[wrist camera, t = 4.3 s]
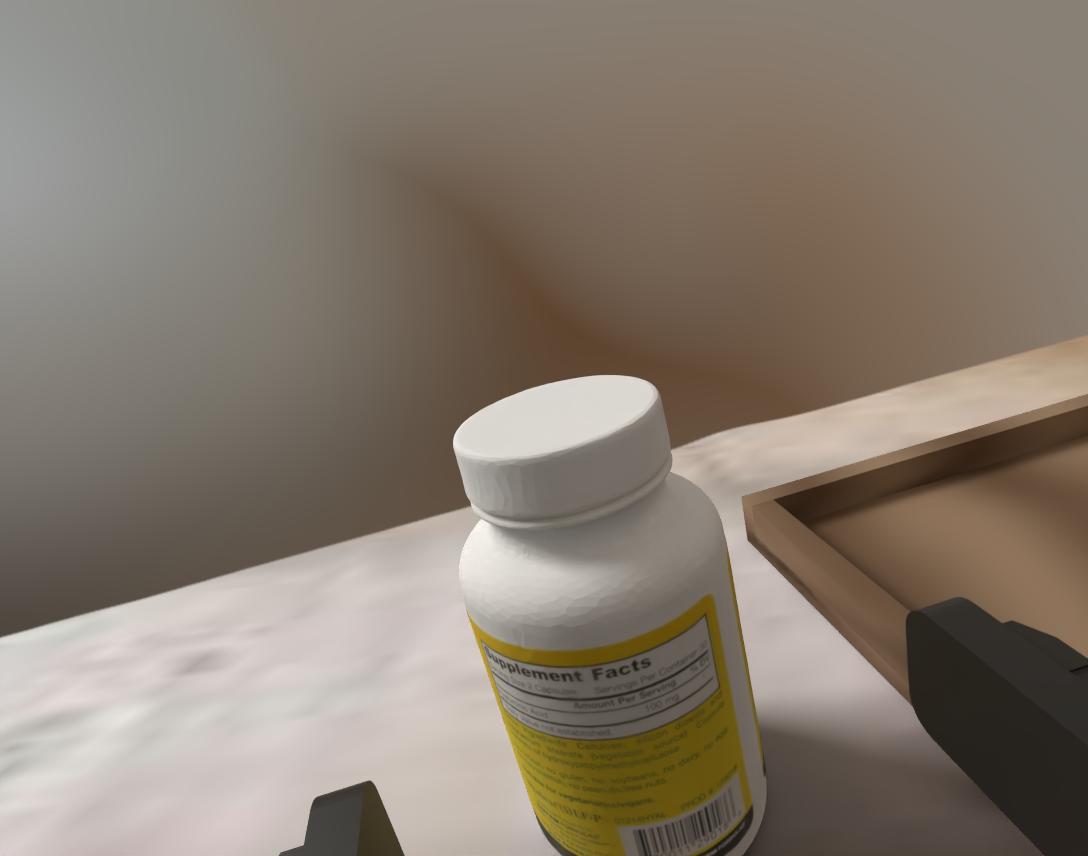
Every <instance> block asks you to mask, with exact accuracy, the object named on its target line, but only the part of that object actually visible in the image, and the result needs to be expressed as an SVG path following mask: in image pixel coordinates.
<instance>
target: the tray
mask: <svg viewBox="0 0 1088 856" xmlns="http://www.w3.org/2000/svg"><path fill="white" fill-rule="evenodd" d="M742 504H743V511H744V518H745V525H746V532H747V538H748V541H749V542H750V543H751V544H752V545H753V546H754V547H755V548H756V549H757V550H758V551H759V552H760V553H761V554H762V555H763V556H764V557H765V558H766V559H767V560H768V561H769V562H770V563H771V564H772V565H773V566H774V567H775V568H776V569H777V570H778V571H779V572H780V573H781V574H782V575H783V576H784V577H785V578H786V579H787V580H788V581H789V582H790V583H791V584H792V585H793V586H794V587H795V588H796V589H797V590H798V591H799V592H800V593H801V594H802V595H803V596H804V597H805V598H806V599H807V600H808V601H809V602H810V603H811V604H812V605H813V606H814V607H815V608H816V609H817V610H818V611H819V612H820V613H821V614H822V615H823V616H824V617H825V618H826V619H827V620H828V621H829V622H830V623H831V624H832V625H833V626H834V627H835V628H836V629H837V630H838V631H839V632H840V633H841V634H842V635H843V636H844V637H845V638H846V639H847V640H848V642H849V643H850V644H851V645H852V646H853V647H854V648H855V649H856V650H857V651H858V652H859V653H860V654H861V655H862V656H863V657H864V658H865V659H866V660H867V661H868V662H869V663H870V664H871V665H872V666H873V667H874V668H875V669H876V670H877V671H878V672H879V673H880V674H881V675H882V676H883V677H884V678H885V679H886V680H887V681H888V682H889V683H890V684H891V685H892V686H893V687H894V688H895V689H896V690H897V691H898V692H899V693H900V694H901V695H902V696H903V697H904V698H905V699H906V700H907V701H908V702H909V703H910V704H911V705H912V702H911V699H910V694H909V679H908V661H907V643H906V617H907V615H908V614H909V613H910V612H911V611H914V610H917V609H920V608H924V607H927V606H930V605H933V604H936V603H939V602H943V601H946V600H949V599H952V598H955V597H963V598H966V599H968V600H970V601H972V602H973V603H975V604H976V605H978V606H979V607H980V608H982V609H983V610H985V611H986V612H987V613H989V614H990V615H992V616H993V617H994V618H996V619H997V620H998V621H1000V622H1001V623H1004V622H1008V621H1011V620H1013V621H1016V622H1018V623H1021V624H1023V625H1026V626H1029V627H1031V628H1034V629H1036V630H1039V631H1042V632H1044V633H1047V634H1049V635H1052V636H1055V637H1057V638H1058V639H1060V640H1061V641H1063V642H1064V643H1066V644H1067V645H1069V646H1070V647H1072V648H1073V649H1075V650H1076V651H1078V652H1079V653H1081V654H1082V655H1084V656H1085V657H1086V658H1088V394H1087V395H1083V396H1080V397H1077V398H1073V399H1070V400H1066V401H1063V402H1060V403H1056V404H1053V405H1049V406H1046V407H1043V408H1039V409H1036V410H1033V411H1029V412H1026V413H1022V414H1019V415H1016V416H1012V417H1009V418H1006V419H1002V420H999V421H995V422H992V423H989V424H985V425H982V426H979V427H975V428H972V429H968V430H965V431H962V432H958V433H955V434H952V435H948V436H945V437H941V438H938V439H935V440H931V441H928V442H925V443H921V444H918V445H914V446H911V447H908V448H904V449H901V450H898V451H894V452H891V453H887V454H884V455H881V456H877V457H874V458H871V459H867V460H864V461H860V462H857V463H854V464H850V465H847V466H844V467H840V468H837V469H833V470H830V471H827V472H823V473H820V474H817V475H813V476H810V477H806V478H803V479H800V480H796V481H793V482H790V483H786V484H783V485H779V486H776V487H773V488H769V489H766V490H762V491H759V492H756V493H752V494H749V495H746V496H742ZM912 706H913V705H912Z"/></svg>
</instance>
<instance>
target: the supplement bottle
mask: <svg viewBox="0 0 1088 856" xmlns="http://www.w3.org/2000/svg"><path fill="white" fill-rule="evenodd" d="M453 447H454V451H455V454H456V457H457V461H458V465H459V468H460V471H461V475H462V479H463V483H464V487H465V491H466V494H467V496H468V498H469V500H470V501H471V505H472V508H473V510H474V512H475V513H476V514H477V515H478V516H479V517H480V518H481V520H480V521H479V522H478V523H477V525H476V526H475V528H474V529H473V531H472V532H471V533H470V535H469V537H468V539H467V541H466V543H465V545H464V548H463V551H462V554H461V558H460V565H459V582H460V587H461V592H462V595H463V598H464V602H465V606H466V610H467V614H468V617H469V620H470V623H471V626H472V629H473V631H474V634H475V637H476V640H477V643H478V646H479V649H480V652H481V655H482V658H483V661H484V664H485V667H486V670H487V673H488V676H489V679H490V682H491V685H492V688H493V691H494V694H495V697H496V699H497V702H498V705H499V708H500V711H501V714H502V718H503V721H504V724H505V727H506V730H507V733H508V735H509V738H510V741H511V744H512V747H513V750H514V753H515V756H516V759H517V762H518V765H519V768H520V771H521V774H522V777H523V780H524V783H525V786H526V789H527V792H528V795H529V799H530V801H531V804H532V806H533V809H534V812H535V815H536V818H537V820H538V823H539V826H540V828H541V830H542V833H543V835H544V837H545V839H546V841H547V843H548V845H549V846H550V848H551V849H552V851H553V852H554V854H555V855H556V856H743V854H744V853H745V852H746V850H747V849H748V848H749V846H750V845H751V843H752V842H753V840H754V838H755V836H756V834H757V832H758V830H759V827H760V825H761V822H762V819H763V815H764V811H765V806H766V798H767V783H766V769H765V762H764V756H763V751H762V745H761V738H760V732H759V726H758V721H757V715H756V709H755V704H754V698H753V692H752V686H751V681H750V675H749V668H748V662H747V657H746V652H745V646H744V640H743V635H742V630H741V624H740V618H739V612H738V606H737V600H736V594H735V588H734V582H733V576H732V570H731V564H730V558H729V553H728V547H727V542H726V538H725V535H724V530H723V525H722V522H721V519H720V516H719V513H718V511H717V509H716V508H715V506H714V504H713V503H712V501H711V500H710V499H709V497H708V496H707V495H706V494H705V493H704V492H703V491H702V490H701V489H700V488H699V487H697V486H696V485H695V484H693V483H692V482H691V481H689V480H687V479H685V478H683V477H682V476H679V475H677V474H674V473H672V472H669V471H670V469H671V467H672V454H671V451H670V440H669V435H668V430H667V425H666V421H665V416H664V412H663V407H662V402H661V397H660V394H659V392H658V390H657V389H656V388H655V387H654V386H653V385H652V384H651V383H649V382H647V381H645V380H642V379H639V378H635V377H629V376H619V375H599V376H589V377H581V378H575V379H569V380H564V381H559V382H555V383H550V384H546V385H542V386H539V387H536V388H531V389H528V390H525V391H523V392H520V393H517V394H515V395H512V396H510V397H507V398H504V399H502V400H500V401H498V402H496V403H494V404H492V405H490V406H488V407H486V408H484V409H482V410H480V411H479V412H477V413H476V414H474V415H473V416H471V417H470V418H469V419H467V420H466V421H465V422H464V423H463V424H462V425H461V426H460V427H459V429H458V430H457V432H456V434H455V435H454V441H453Z"/></svg>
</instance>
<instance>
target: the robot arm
mask: <svg viewBox="0 0 1088 856" xmlns="http://www.w3.org/2000/svg"><path fill="white" fill-rule="evenodd" d="M906 643H907V661H908V679H909V694H910V699H911V702H912V705H913V708H914V710H915V713H916V715H917V717H918V719H919V721H920V722H921V724H922V726H923V727H924V729H925V730H926V731H927V733H928V734H929V735H930V736H931V738H932V739H933V740H934V741H935V742H936V743H937V744H938V745H939V746H940V747H941V748H942V749H943V750H944V751H945V752H946V753H947V754H948V755H949V756H950V757H951V759H952V760H953V761H954V762H955V763H956V764H957V765H958V766H959V767H960V768H961V769H962V770H963V771H964V772H965V773H966V774H967V775H968V776H969V777H970V778H971V779H972V780H973V781H974V782H975V784H976V785H977V786H978V787H979V788H980V789H981V790H982V791H983V792H984V793H985V794H986V795H987V796H988V797H989V798H990V799H991V800H992V801H993V802H994V803H995V804H996V805H997V806H998V807H999V808H1000V810H1001V811H1002V812H1003V813H1004V814H1005V815H1006V816H1007V817H1008V818H1009V819H1010V820H1011V821H1012V822H1013V823H1014V824H1015V825H1016V826H1017V827H1018V828H1019V829H1020V830H1021V831H1022V832H1023V833H1024V835H1025V836H1026V837H1027V838H1028V839H1029V840H1030V841H1031V842H1032V843H1033V844H1034V845H1035V846H1036V847H1037V848H1038V849H1039V850H1040V851H1041V852H1042V853H1043V854H1044V855H1045V856H1088V658H1086V657H1085V656H1084V655H1082V654H1081V653H1079V652H1078V651H1076V650H1075V649H1073V648H1072V647H1070V646H1069V645H1067V644H1066V643H1064V642H1063V641H1061V640H1060V639H1058V638H1057V637H1055V636H1052V635H1049V634H1047V633H1044V632H1042V631H1039V630H1036V629H1034V628H1031V627H1029V626H1026V625H1023V624H1021V623H1018V622H1016V621H1013V620H1011V621H1008V622H1004V623H1001V622H1000V621H998V620H997V619H996V618H994V617H993V616H992V615H990V614H989V613H987V612H986V611H985V610H983V609H982V608H980V607H979V606H978V605H976V604H975V603H973V602H972V601H970V600H968V599H966V598H963V597H955V598H952V599H949V600H946V601H943V602H939V603H936V604H933V605H930V606H927V607H924V608H920V609H917V610H914V611H911V612H910V613H909V614H908V615H907V617H906ZM279 856H404V853H403V851H402V848H401V846H400V844H399V841H398V839H397V836H396V834H395V832H394V829H393V827H392V824H391V822H390V820H389V817H388V815H387V812H386V810H385V807H384V805H383V803H382V800H381V798H380V795H379V793H378V791H377V789H376V787H375V785H374V783H373V782H372V781H366V782H363V783H359V784H356V785H353V786H350V787H347V788H344V789H340V790H337V791H334V792H331V793H328V794H324V795H321V796H318V797H316V798H315V799H314V801H313V803H312V806H311V810H310V815H309V820H308V826H307V831H306V836H305V842H304V845H303V846H300V847H297V848H294V849H291V850H288V851H284V852H281V853H280V855H279Z"/></svg>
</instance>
